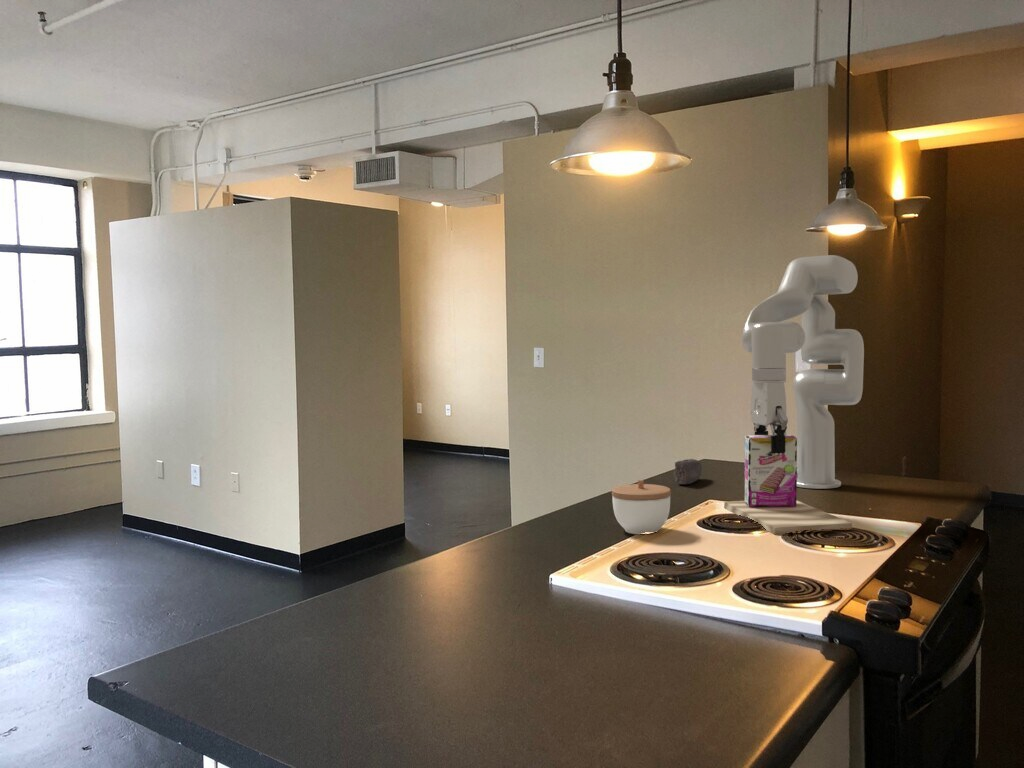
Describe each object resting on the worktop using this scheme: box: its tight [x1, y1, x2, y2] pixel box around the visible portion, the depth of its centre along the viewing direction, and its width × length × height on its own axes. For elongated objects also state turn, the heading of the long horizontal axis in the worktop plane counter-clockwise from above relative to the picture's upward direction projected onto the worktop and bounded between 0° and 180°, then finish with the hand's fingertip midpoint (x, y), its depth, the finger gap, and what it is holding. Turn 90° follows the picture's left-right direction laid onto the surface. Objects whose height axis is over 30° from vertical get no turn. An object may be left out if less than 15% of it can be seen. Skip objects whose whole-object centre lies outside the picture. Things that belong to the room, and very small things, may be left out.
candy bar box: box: [744, 434, 798, 507], centre depth 193 cm, size 11×5×16 cm, turn 86°
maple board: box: [723, 499, 853, 536], centre depth 187 cm, size 28×17×2 cm, turn 7°
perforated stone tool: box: [673, 458, 703, 485], centre depth 235 cm, size 15×5×7 cm, turn 143°
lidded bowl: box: [611, 479, 672, 535], centre depth 178 cm, size 13×13×11 cm
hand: (769, 450), depth 193 cm, fingers open, 8 cm apart
